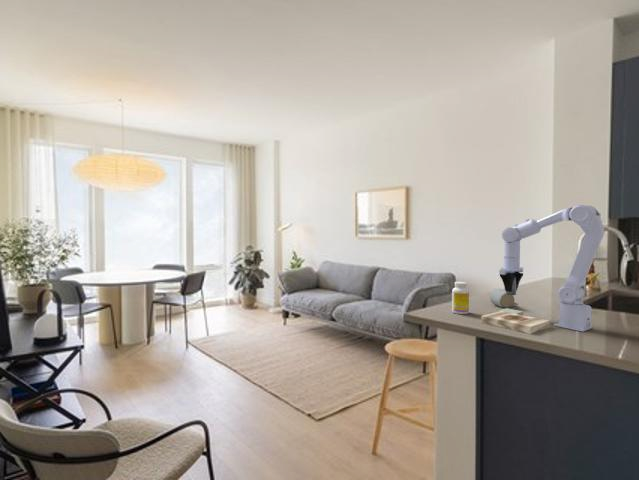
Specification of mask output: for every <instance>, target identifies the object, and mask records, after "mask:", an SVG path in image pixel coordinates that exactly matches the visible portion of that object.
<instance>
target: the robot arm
mask: <svg viewBox="0 0 639 480" xmlns="http://www.w3.org/2000/svg"><path fill="white" fill-rule="evenodd" d="M563 221H572V222H574V223H575V224H576V225H578V226H579V227H580V228H581V230H582V231H583V232H584V233H585V235H584V237H583V239H582V242H581V245H580V246H579V250H578V252H577V254H576V257H575V260H574V262H573V265H572V267H571V270H570V272H569V275H568V276H567V278H565V279H566V280H565V281H564V283H563V284H562V285H561V286H560V287H559V288H558V290H557V297H558V299H559V303H558V304H559V305H558V322H557V323H554V324H553V326H555V327H559V328H564V329H569V330H574V331H578V332H586V331H588V330H591V329H592V328H593V326H592V322H593V317H592V316H593V309H592V306H590V305H588V304H585V303H584V301H583V299H582V298H584V297H585V295H586V289H585V287H586V285H587V281H586V279H587V276H588V275H589V272H590V270H591V267H592V264H593V263H594V260H595V257H596V255H597V253H598V249H599V247H600V245H601V242H602V240H603V238H604V234H605V227H604V224H603V222H602V218H601V213H600V211H598V209H597V208H596V207H594V206H592V205H585V204H577V205H573V206H571V207H567V208H564V209H561V210H559V211H556V212H554V213H551V214H550V215H547V216H546V217H542V218H541V219H539V220H537V219H534V218H532V219H530V218H527V219H525V221H524V222H521V223H520V224H517V223H516V224H514V225H513V227H506V228H505V229H504V230H503V231H502V233H501V238H502V240H503V241H504V242H503V243H504V244H503V267H500V268H499V271H498V272H499V274H498V275H499V276H500V278H501V281H502V284H503V287H504V291H507V292H511V291H512V285H513V281H514V278H515V277H516V292H517V291H518V288H519V284H520V281H521V280H522V278H523V276H524V267H523V266H520V263H521V260H520V259H521V241H522V239H526V238H529V237H531V236H534V235H536V234H539V233H541V230H542V229H543V228H546V227H550V226H552V225H554V224H555V225H556V224H557V223H558V224H559V223H561V222H563Z"/></svg>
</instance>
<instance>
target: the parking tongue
mask: <svg viewBox="0 0 639 480" xmlns="http://www.w3.org/2000/svg"><path fill="white" fill-rule="evenodd" d="M499 311H504V312H509V313H514V314H519V315H524V316H525V313H524V312H525V311H524V310H518V309H513V308H502V309H499V310H497V312H499Z"/></svg>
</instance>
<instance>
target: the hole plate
mask: <svg viewBox="0 0 639 480" xmlns="http://www.w3.org/2000/svg"><path fill="white" fill-rule="evenodd" d="M480 319H481V321H480V322H481V323H482V324H486V325H490V326H495V327H498V328H502V329H503V328H504V329H507V330H508V329H509V330H512V331H515V332H521V333H524V334H529V335H532V334H534V333H537V332H540V331H543V330H546V329H549V328H550V320H549V319H546V318H545V319H544V318H538V317H532V316H528V315H525V314H524V315H519V314H514V313H509V312H504V311H499V312H498V311H496V312H492V313H487V314H485V315H481V316H480Z"/></svg>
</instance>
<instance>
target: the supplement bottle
mask: <svg viewBox="0 0 639 480" xmlns="http://www.w3.org/2000/svg"><path fill="white" fill-rule="evenodd" d="M469 295H470V291H469V289H468V288H467V282H466V281H465V282H464V281H455V282H454V287H453V288H452V290H451V312H452V313H453V314H455V315H468V314H469V310H470V309H469V308H470V307H469V306H470V305H469V304H470V302H469V301H470V300H469V299H470V296H469Z"/></svg>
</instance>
